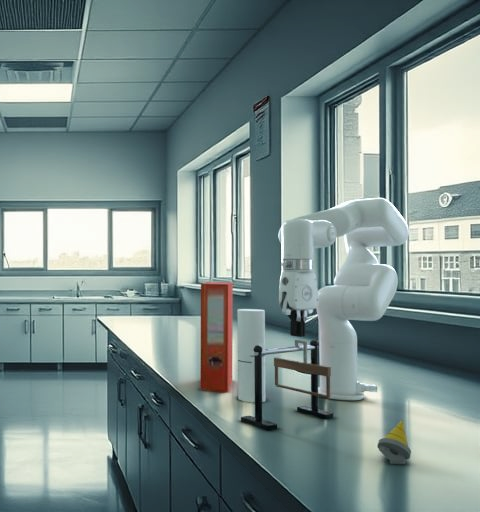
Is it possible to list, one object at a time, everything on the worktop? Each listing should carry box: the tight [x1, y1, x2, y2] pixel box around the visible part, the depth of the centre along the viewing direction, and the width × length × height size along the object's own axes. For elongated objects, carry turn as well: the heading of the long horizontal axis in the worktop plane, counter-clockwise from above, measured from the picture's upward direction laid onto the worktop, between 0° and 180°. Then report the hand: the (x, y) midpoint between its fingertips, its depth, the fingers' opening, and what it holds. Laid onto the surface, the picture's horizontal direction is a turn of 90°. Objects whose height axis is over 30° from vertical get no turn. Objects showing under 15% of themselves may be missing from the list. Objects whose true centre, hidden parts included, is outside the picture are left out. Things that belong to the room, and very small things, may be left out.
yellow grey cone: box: [377, 420, 412, 465], centre depth 106 cm, size 5×5×10 cm
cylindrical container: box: [236, 308, 266, 403], centre depth 154 cm, size 7×7×25 cm
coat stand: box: [240, 339, 334, 432], centre depth 133 cm, size 23×8×19 cm, turn 117°
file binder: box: [199, 281, 234, 393], centre depth 171 cm, size 8×17×32 cm, turn 156°
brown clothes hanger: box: [273, 339, 331, 399], centre depth 136 cm, size 1×15×13 cm, turn 27°
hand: (297, 335), depth 144 cm, fingers closed
